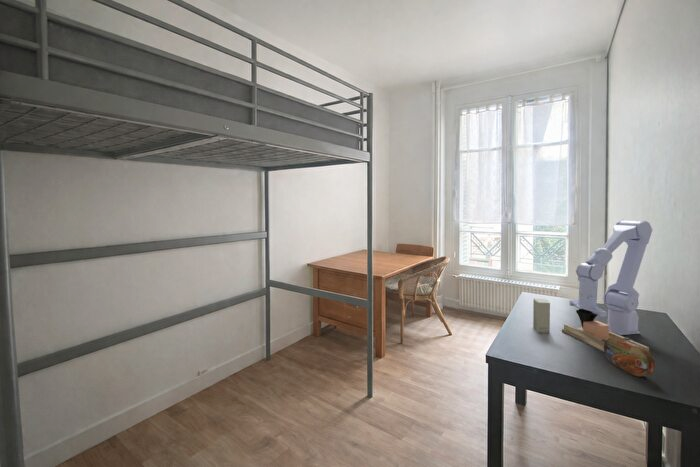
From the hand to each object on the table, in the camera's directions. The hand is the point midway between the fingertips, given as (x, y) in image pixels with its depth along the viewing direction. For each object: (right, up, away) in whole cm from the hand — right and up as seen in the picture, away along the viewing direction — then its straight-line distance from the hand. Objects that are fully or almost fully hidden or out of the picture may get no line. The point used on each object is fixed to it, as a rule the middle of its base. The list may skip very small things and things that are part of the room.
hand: (585, 329), depth 129 cm
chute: (+1, -3, -7) cm, 7 cm away
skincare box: (-14, -2, +6) cm, 15 cm away
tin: (-6, -5, -26) cm, 27 cm away
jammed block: (+1, -2, -4) cm, 4 cm away
